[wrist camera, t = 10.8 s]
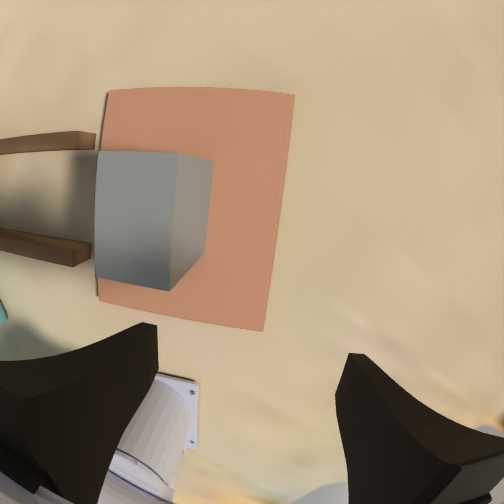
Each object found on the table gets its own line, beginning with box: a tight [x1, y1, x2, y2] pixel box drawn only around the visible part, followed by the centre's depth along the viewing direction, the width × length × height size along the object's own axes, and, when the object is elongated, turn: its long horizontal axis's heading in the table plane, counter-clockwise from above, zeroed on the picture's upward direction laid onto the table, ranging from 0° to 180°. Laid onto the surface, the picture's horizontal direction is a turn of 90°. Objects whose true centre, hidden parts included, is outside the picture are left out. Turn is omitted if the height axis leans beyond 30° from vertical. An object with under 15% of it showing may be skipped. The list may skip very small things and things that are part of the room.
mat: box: [97, 87, 295, 332], centre depth 20 cm, size 16×13×1 cm
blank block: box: [94, 151, 214, 292], centre depth 16 cm, size 6×4×7 cm, turn 173°
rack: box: [0, 131, 96, 267], centre depth 19 cm, size 10×16×4 cm, turn 83°
